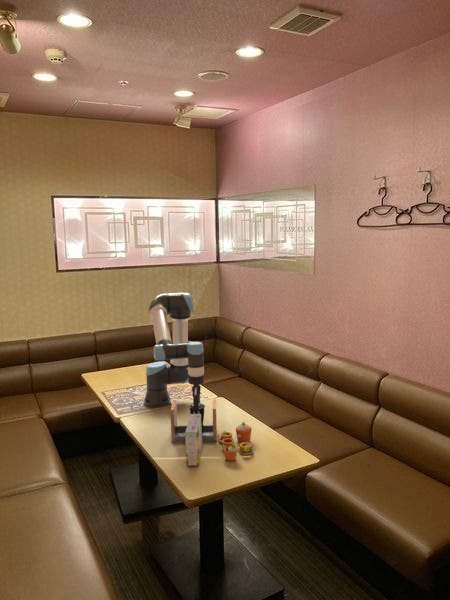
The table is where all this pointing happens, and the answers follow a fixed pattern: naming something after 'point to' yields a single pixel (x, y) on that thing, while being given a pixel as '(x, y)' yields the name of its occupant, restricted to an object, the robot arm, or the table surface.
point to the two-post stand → (179, 431)
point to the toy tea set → (242, 437)
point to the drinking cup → (201, 411)
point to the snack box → (193, 440)
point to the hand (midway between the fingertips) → (197, 421)
